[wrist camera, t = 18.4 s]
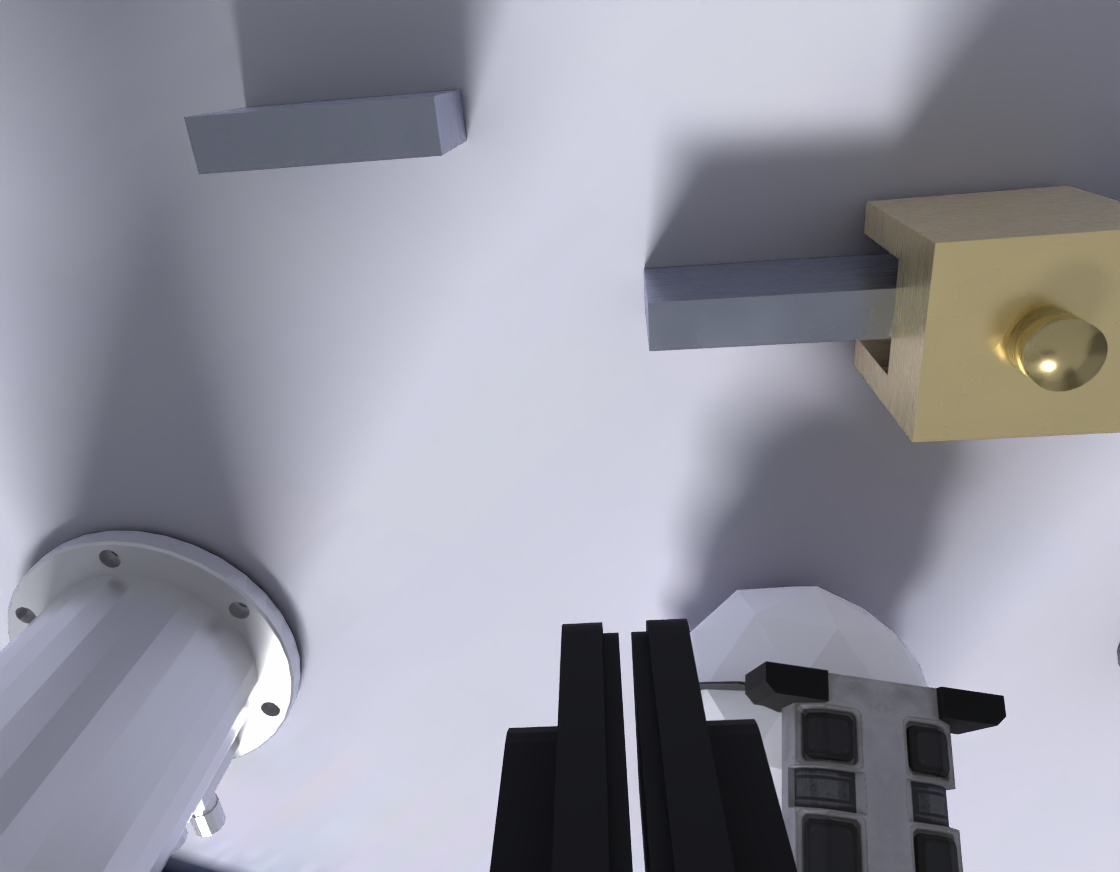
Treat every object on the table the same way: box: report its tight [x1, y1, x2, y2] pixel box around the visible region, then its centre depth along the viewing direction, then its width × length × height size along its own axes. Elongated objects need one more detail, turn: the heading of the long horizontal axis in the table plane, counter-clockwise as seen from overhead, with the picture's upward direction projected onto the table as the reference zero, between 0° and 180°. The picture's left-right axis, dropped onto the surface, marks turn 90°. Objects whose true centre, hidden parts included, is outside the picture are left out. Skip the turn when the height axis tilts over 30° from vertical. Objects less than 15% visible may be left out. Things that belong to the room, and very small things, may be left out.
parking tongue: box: [184, 90, 467, 174], centre depth 24 cm, size 2×7×4 cm, turn 95°
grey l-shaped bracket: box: [644, 254, 899, 351], centre depth 22 cm, size 4×19×9 cm, turn 94°
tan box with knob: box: [854, 185, 1120, 443], centre depth 23 cm, size 6×6×7 cm
